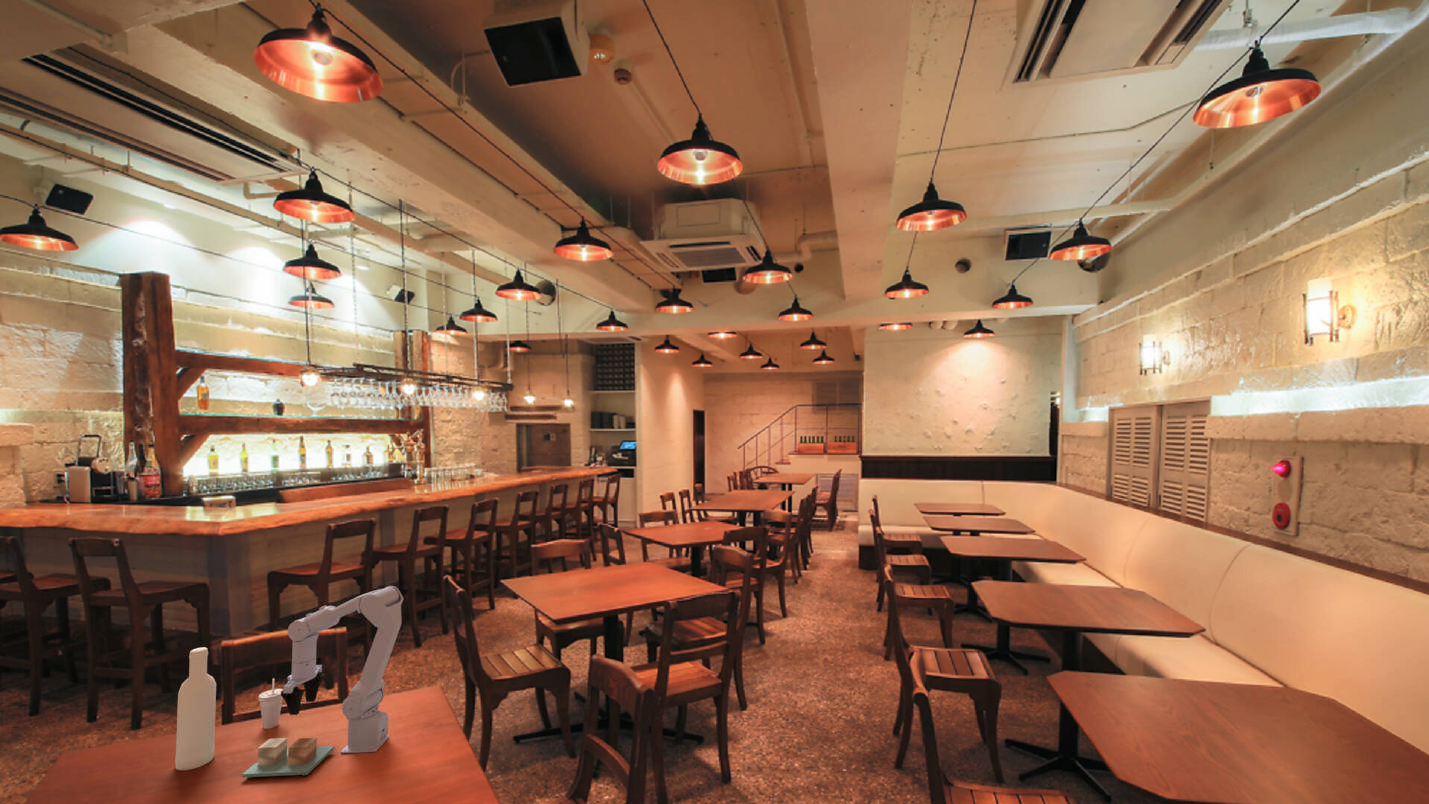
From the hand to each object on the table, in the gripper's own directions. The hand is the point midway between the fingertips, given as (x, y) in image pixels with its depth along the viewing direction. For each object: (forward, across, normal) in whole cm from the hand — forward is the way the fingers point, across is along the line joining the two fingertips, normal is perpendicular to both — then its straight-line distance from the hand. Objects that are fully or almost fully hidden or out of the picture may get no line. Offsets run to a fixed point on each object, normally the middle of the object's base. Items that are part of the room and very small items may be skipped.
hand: (302, 707), depth 168 cm
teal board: (+10, +13, +5) cm, 17 cm away
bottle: (+10, +8, -22) cm, 26 cm away
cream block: (+8, +13, 0) cm, 15 cm away
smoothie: (+10, -10, -15) cm, 21 cm away
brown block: (+8, +13, +8) cm, 17 cm away
